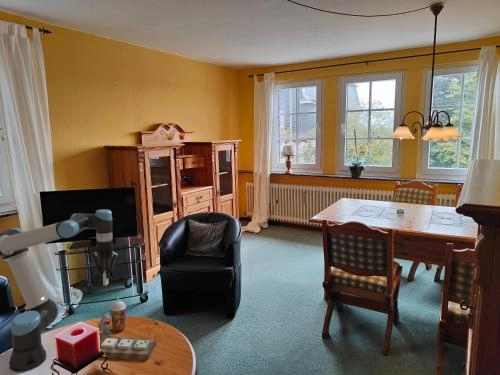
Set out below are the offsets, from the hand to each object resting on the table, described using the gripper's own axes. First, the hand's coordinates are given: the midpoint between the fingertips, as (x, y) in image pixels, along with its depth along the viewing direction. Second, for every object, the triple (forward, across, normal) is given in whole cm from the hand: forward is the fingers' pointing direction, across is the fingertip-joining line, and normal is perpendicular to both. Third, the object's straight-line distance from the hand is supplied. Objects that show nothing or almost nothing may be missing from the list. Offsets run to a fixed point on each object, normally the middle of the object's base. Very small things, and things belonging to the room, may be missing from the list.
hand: (105, 284), depth 175 cm
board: (+34, +11, -3) cm, 36 cm away
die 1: (+34, +2, -3) cm, 35 cm away
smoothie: (+35, -1, +16) cm, 38 cm away
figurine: (+35, -4, +7) cm, 36 cm away
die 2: (+34, +11, -3) cm, 36 cm away
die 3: (+34, +19, -3) cm, 40 cm away
